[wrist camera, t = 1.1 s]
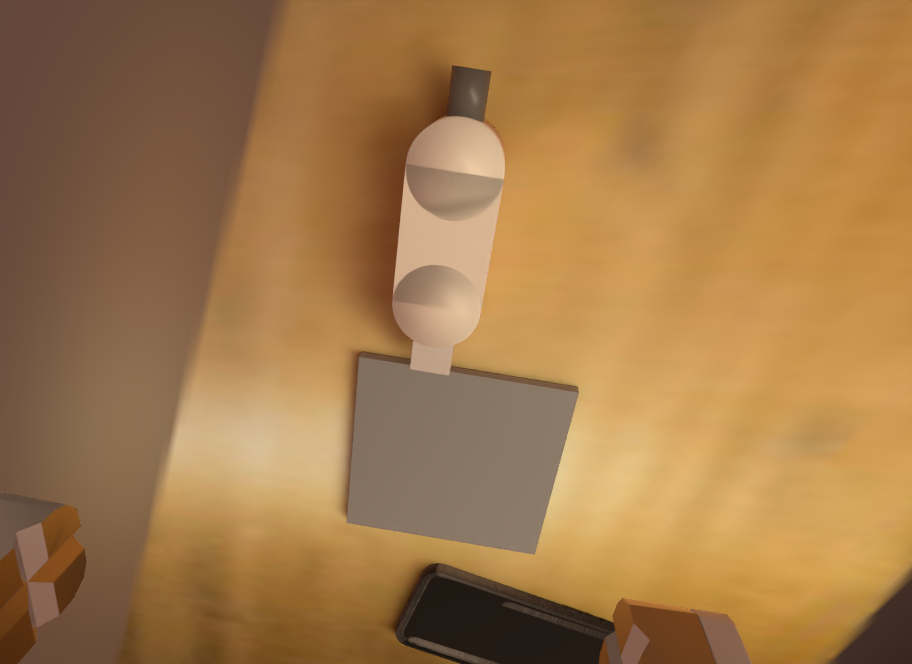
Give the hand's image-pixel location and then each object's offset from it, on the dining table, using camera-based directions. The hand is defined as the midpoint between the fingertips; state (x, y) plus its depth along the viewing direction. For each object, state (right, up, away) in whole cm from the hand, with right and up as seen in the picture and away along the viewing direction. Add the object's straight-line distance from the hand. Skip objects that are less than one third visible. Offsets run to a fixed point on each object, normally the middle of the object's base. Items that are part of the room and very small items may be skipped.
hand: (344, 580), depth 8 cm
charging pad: (+2, -4, +25) cm, 25 cm away
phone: (+6, -17, +31) cm, 36 cm away
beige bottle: (+2, +9, +19) cm, 21 cm away
